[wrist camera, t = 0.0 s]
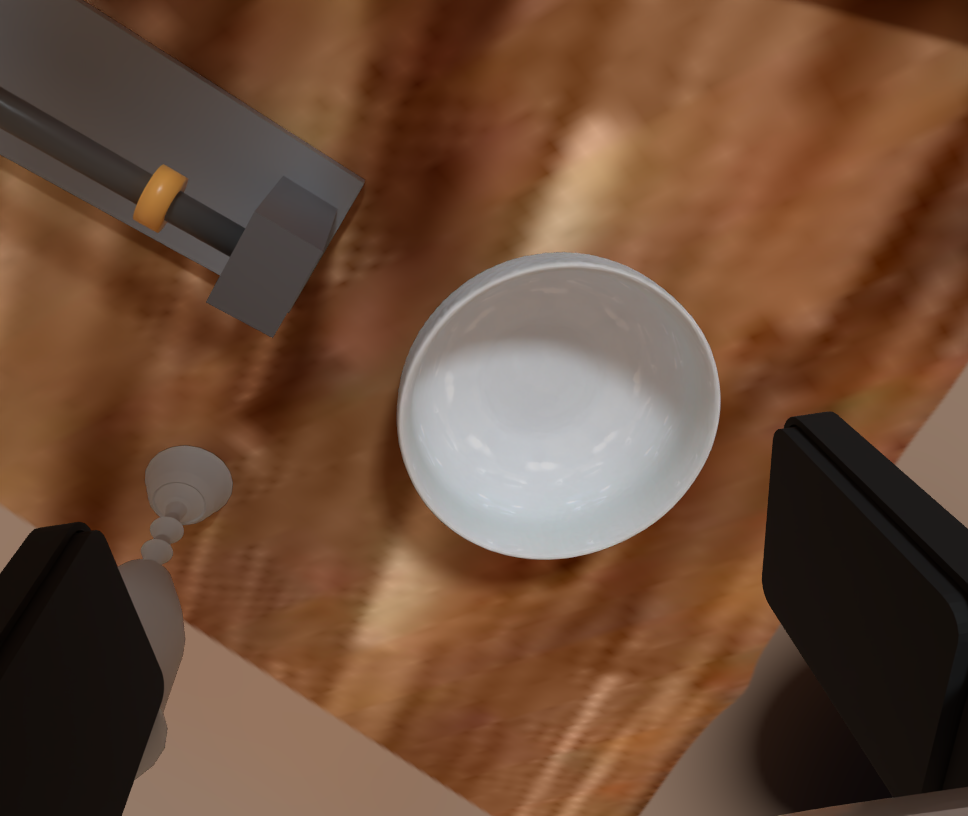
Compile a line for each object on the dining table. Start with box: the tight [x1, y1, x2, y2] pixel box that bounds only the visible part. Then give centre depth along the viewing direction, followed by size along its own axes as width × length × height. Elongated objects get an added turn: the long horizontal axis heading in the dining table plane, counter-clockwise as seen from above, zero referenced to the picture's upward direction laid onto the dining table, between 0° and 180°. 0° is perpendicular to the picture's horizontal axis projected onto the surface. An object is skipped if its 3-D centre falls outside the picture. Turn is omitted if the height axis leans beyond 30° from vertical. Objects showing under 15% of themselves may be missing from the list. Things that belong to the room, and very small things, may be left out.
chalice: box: [118, 446, 233, 780], centre depth 37 cm, size 7×7×18 cm
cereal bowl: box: [397, 252, 720, 560], centre depth 41 cm, size 17×17×7 cm
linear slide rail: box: [0, 0, 365, 338], centre depth 31 cm, size 8×28×9 cm, turn 56°
